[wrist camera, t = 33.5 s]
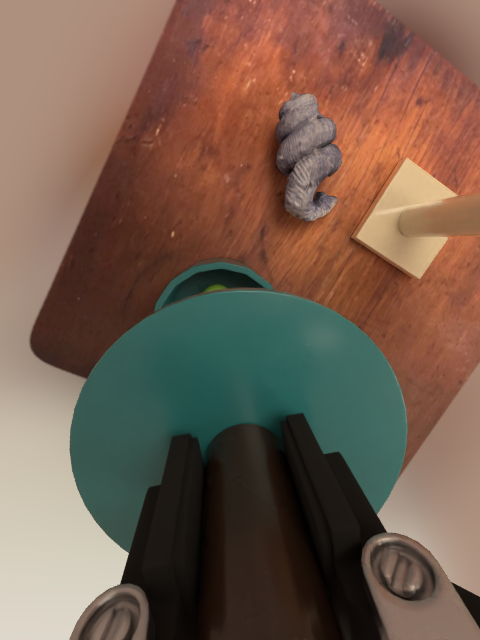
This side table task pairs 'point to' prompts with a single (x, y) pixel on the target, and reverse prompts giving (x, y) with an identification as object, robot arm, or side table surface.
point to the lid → (240, 443)
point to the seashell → (306, 156)
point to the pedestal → (416, 219)
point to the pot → (210, 279)
